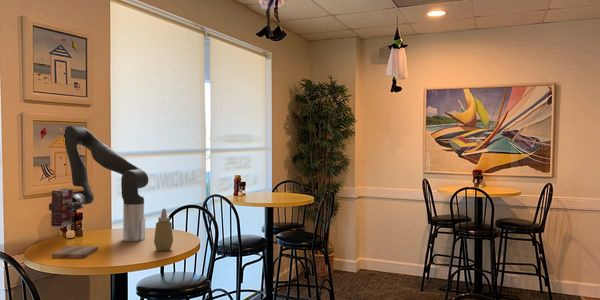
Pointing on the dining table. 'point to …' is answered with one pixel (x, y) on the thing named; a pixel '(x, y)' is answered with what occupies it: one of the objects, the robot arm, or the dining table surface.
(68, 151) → the robot arm
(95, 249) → the walnut board
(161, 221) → the squeeze bottle
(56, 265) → the dining table surface
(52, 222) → the supplement box
